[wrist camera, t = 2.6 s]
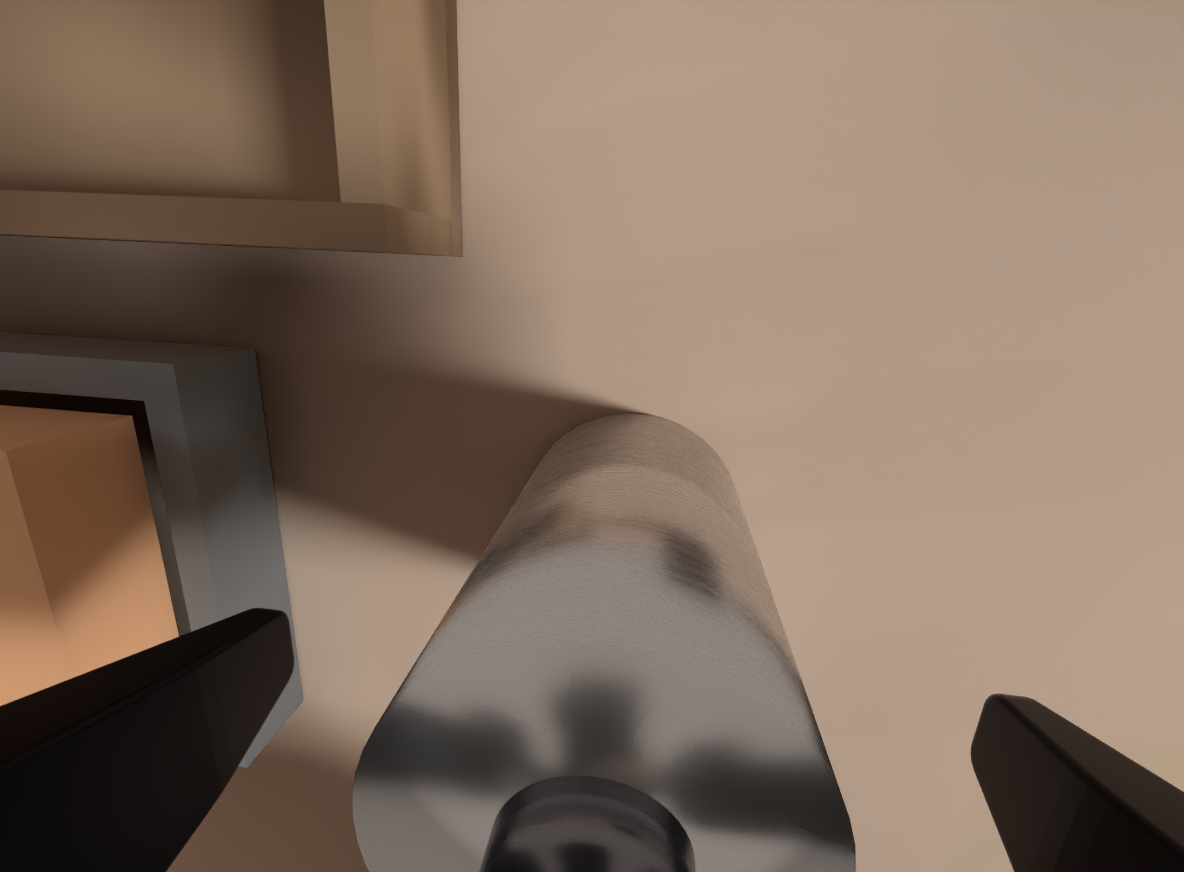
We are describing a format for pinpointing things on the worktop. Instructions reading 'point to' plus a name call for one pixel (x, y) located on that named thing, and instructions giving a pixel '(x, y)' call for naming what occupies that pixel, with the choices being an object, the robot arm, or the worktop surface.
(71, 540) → the pad
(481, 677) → the cylinder
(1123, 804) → the robot arm
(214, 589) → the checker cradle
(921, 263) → the worktop surface
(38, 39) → the tray
